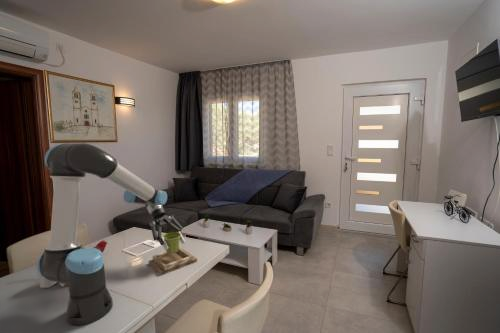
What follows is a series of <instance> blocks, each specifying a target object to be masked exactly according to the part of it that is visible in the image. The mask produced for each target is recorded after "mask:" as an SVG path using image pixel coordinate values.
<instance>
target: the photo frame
mask: <svg viewBox="0 0 500 333" xmlns="http://www.w3.org/2000/svg"><path fill="white" fill-rule="evenodd" d="M141 244H143V245H146V246H149V247H151V248H149V249H148V250H145V251H143V252H141V253H140V252H139V253H138V254H136V253H133V252H132V251H129V249H132V248H135V247H137V246H139V245H141ZM162 246H163V245H161V244H160V242H159V241H156V240H151V239H147V240H143V241H142V242H139V243H137V244H134V245H131V246H128V247H126V248H124V249H122V251H123V252H125V253H127V254H130V255H132V256H134V257H138V256H141V255H143V254H145V253H148V252H150V251H152V250H156V249H157V248H160V247H162Z"/></svg>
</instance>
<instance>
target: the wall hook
mask: <svg viewBox="0 0 500 333" xmlns="http://www.w3.org/2000/svg"><path fill="white" fill-rule="evenodd" d="M35 274H36V275H35V276H36V278H37V281H38V285H39V287H40V288H41V289H47V288H51V287H52V286H54V285H55V284H57V283H58V282H56V281H50V280H48V279H45V278H43V277H42V276H40V275H39V273H38V271H37V272H36V273H35ZM59 284H60V287H63V288H64V287H65V286H66V285H67V284H63V283H59Z"/></svg>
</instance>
